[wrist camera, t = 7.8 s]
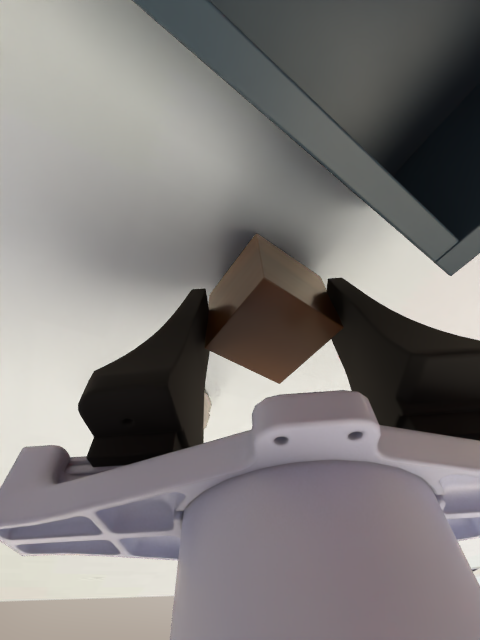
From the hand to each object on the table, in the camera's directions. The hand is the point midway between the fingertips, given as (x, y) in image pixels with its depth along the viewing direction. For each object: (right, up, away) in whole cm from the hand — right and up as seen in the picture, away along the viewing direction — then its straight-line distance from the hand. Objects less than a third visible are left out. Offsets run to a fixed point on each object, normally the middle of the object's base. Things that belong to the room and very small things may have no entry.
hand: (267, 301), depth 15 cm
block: (0, +1, +1) cm, 1 cm away
